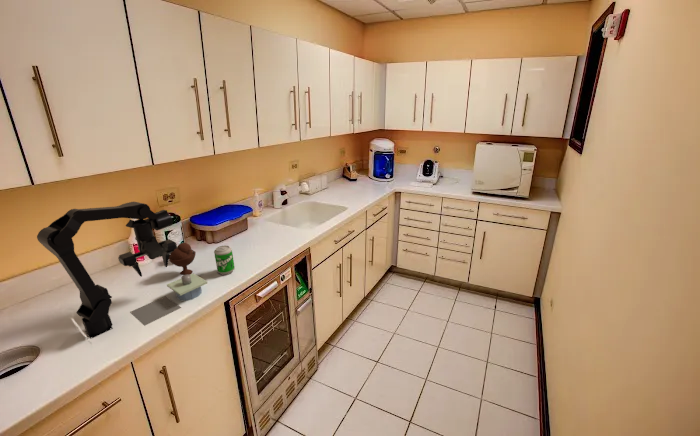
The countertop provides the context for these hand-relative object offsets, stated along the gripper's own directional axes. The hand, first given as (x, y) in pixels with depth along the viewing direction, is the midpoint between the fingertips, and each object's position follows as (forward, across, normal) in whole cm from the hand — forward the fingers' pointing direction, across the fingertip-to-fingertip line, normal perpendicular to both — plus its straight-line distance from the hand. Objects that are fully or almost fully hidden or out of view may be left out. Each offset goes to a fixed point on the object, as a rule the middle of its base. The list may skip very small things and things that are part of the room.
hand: (153, 271), depth 126 cm
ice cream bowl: (+12, +16, +11) cm, 23 cm away
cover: (+7, +8, -8) cm, 13 cm away
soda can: (+12, +28, -3) cm, 31 cm away
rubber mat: (+12, -5, -8) cm, 15 cm away
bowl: (+12, +8, -8) cm, 16 cm away
